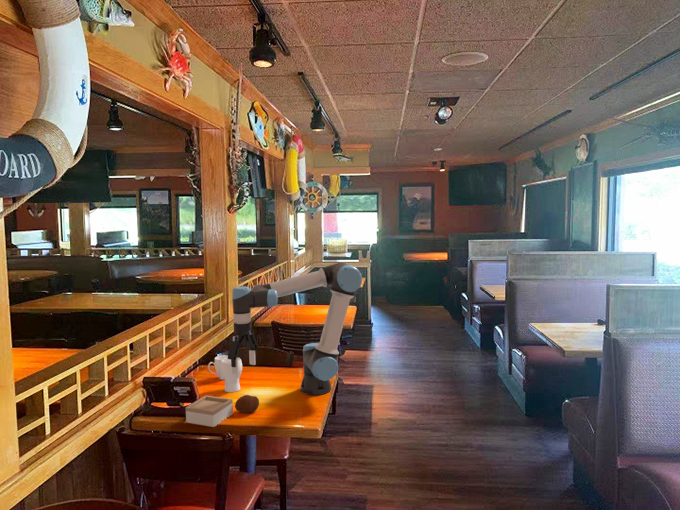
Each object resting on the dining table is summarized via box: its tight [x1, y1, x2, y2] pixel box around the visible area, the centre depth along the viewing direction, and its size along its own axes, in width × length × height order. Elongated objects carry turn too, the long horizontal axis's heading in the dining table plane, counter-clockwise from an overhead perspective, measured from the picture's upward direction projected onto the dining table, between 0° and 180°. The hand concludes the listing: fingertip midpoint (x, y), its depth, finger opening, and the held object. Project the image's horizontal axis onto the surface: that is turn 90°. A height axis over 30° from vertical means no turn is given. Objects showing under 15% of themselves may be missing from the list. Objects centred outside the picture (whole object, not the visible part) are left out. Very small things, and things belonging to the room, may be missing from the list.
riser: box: [185, 395, 234, 428], centre depth 215 cm, size 14×14×7 cm
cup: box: [220, 357, 243, 393], centre depth 248 cm, size 11×11×15 cm
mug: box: [207, 354, 228, 381], centre depth 264 cm, size 12×8×11 cm
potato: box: [234, 394, 260, 414], centre depth 221 cm, size 8×11×8 cm
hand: (244, 369), depth 221 cm, fingers open, 13 cm apart
